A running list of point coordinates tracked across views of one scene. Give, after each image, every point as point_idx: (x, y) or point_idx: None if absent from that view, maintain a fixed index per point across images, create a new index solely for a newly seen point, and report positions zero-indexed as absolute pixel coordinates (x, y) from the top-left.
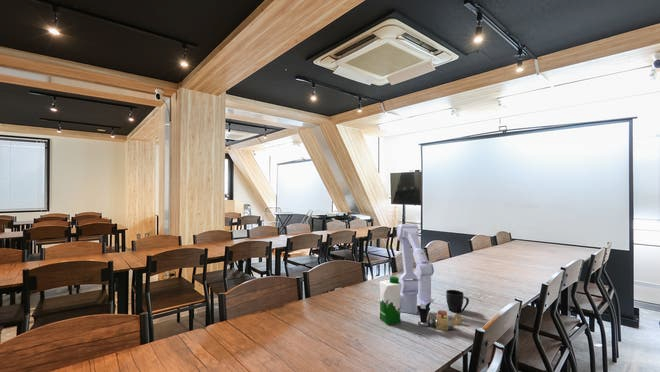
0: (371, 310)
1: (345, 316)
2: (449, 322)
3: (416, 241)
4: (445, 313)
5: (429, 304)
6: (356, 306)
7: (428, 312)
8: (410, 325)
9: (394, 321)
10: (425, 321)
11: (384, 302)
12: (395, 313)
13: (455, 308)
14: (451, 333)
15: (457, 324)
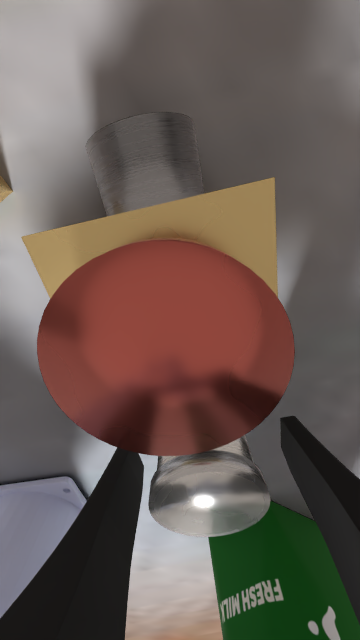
0: (188, 590)
1: None
2: (174, 186)
3: None
4: (230, 280)
5: (61, 636)
6: (185, 618)
7: (171, 488)
8: (270, 457)
9: (305, 530)
10: (304, 430)
11: None
12: (349, 612)
13: None
14: (273, 148)
15: None
